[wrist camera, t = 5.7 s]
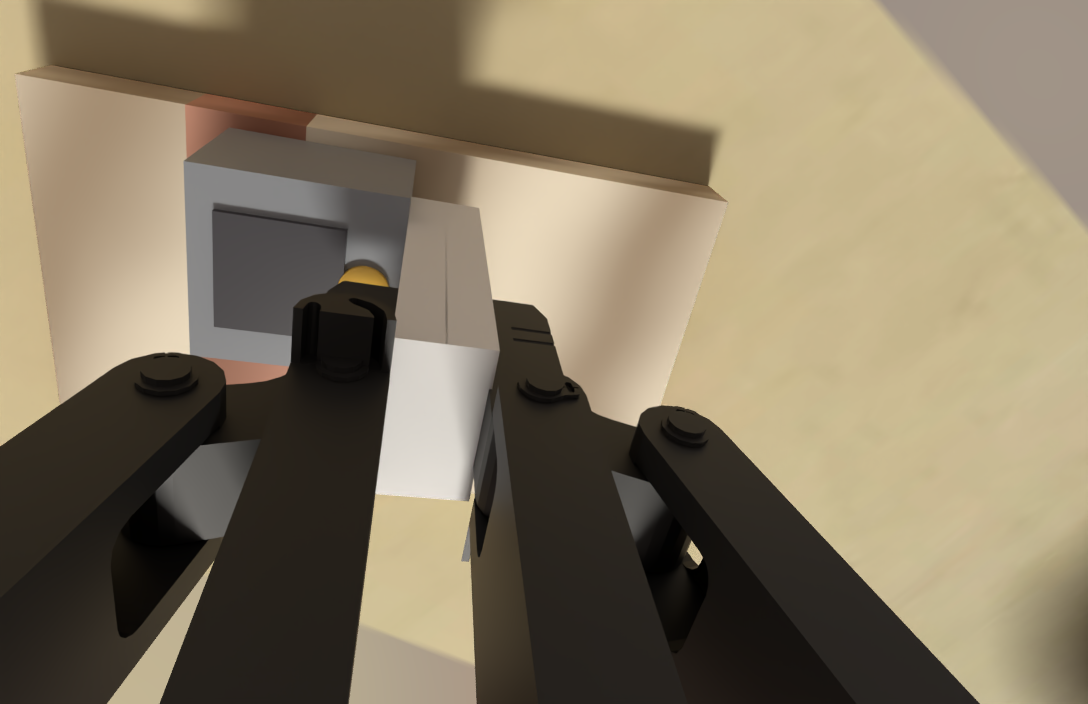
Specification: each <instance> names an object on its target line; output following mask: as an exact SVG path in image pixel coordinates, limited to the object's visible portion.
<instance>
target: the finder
mask: <svg viewBox="0 0 1088 704" xmlns="http://www.w3.org/2000/svg"><path fill="white" fill-rule="evenodd" d="M183 164H184V193H185V223H186V252H187V282H188V312H189V341H190V355H196V356H199V357H208V358H217V359H226V360H235V361H244V362H253V363H262V364H271V365H280V366H289V365H290V362H291V343H292V321H293V307H294V306H295V305H296V304H297V303H298V302H299V301H300V300H301V299H304V298H307V297H309V296H312V295H315V294H323V293H327V291H328V290H329V289H331V288H333V287H334V286H336V285H337V284H339V283H341V282H342V281H350V282H358V283H365V284H372V285H379V286H386V287H393V288H399V283H400V276H401V269H402V262H403V255H404V248H405V241H406V234H407V227H408V220H409V213H410V206H411V199H412V193H413V184H414V176H415V168H416V160H411V159H406V158H400V157H394V156H389V155H383V154H377V153H371V152H366V151H360V150H354V149H349V148H343V147H337V146H332V145H326V144H320V143H315V142H309V141H303V140H298V139H292V138H286V137H281V136H275V135H269V134H264V133H258V132H252V131H246V130H241V129H235V128H228V129H227V130H225V131H224V132H222V133H221V134H220V135H218V136H217V137H216V138H214V139H213V140H211V141H210V142H209V143H207V144H206V145H205V146H203V147H202V148H200V149H199V150H198V151H196V152H195V153H194V154H192V155H191V156H190V157H188V158H187V159H185V160H184V161H183Z"/></svg>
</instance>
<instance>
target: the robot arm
mask: <svg viewBox="0 0 1088 704" xmlns="http://www.w3.org/2000/svg"><path fill="white" fill-rule="evenodd" d="M473 479H474V490H475V499H474V503H473V508H472V513H471V518H470V522H469V527H468V532H467V537H466V541H465V546H464V551H463V556H462V560H461V561H467V562H469V558H470V555H471V579H472V603H473V627H474V650H475V674H476V698H477V704H979V702H978V701H977V700H976V699H975V698H974V697H973V696H972V695H971V694H970V693H969V692H968V691H967V690H966V689H965V688H964V687H963V685H962V684H961V683H960V682H959V681H958V680H957V679H956V678H955V677H954V676H953V675H952V674H951V673H950V672H949V671H948V670H947V668H946V667H945V666H944V665H943V664H942V663H941V662H940V661H939V660H938V659H937V658H936V657H935V656H934V655H933V654H932V653H931V651H930V650H929V649H928V648H927V647H926V646H925V645H924V644H923V643H922V642H921V641H920V640H919V639H918V638H917V637H916V636H915V635H914V633H913V632H912V631H911V630H910V629H909V628H908V627H907V626H906V625H905V624H904V623H903V622H902V621H901V620H900V619H899V618H898V616H897V615H896V614H895V613H894V612H893V611H892V610H891V609H890V608H889V607H888V606H887V605H886V604H885V603H884V602H883V601H882V599H881V598H880V597H879V596H878V595H877V594H876V593H875V592H874V591H873V590H872V589H871V588H870V587H869V586H868V585H867V584H866V582H865V581H864V580H863V579H862V578H861V577H860V576H859V575H858V574H857V573H856V572H855V571H854V570H853V569H852V568H851V567H850V566H849V564H848V563H847V562H846V561H845V560H844V559H843V558H842V557H841V556H840V555H839V554H838V553H837V552H836V551H835V550H834V549H833V547H832V546H831V545H830V544H829V543H828V542H827V541H826V540H825V539H824V538H823V537H822V536H821V535H820V534H819V533H818V532H817V530H816V529H815V528H814V527H813V526H812V525H811V524H810V523H809V522H808V521H807V520H806V519H805V518H804V517H803V516H802V515H801V513H800V512H799V511H798V510H797V509H796V508H795V507H794V506H793V505H792V504H791V503H790V502H789V501H788V500H787V499H786V498H785V497H784V495H783V494H782V493H781V492H780V491H779V490H778V489H777V488H776V487H775V486H774V485H773V484H772V483H771V482H770V481H769V480H768V478H767V477H766V476H765V475H764V474H763V473H762V472H761V471H760V470H759V469H758V468H757V467H756V466H755V465H754V464H753V463H752V461H751V460H750V459H749V458H748V457H747V456H746V455H745V454H744V453H743V452H742V451H741V450H740V449H739V448H738V447H737V446H736V444H735V443H734V442H733V441H732V440H731V439H730V438H729V437H728V436H727V435H726V434H725V433H724V432H723V431H722V430H721V429H720V428H719V427H718V426H716V425H715V424H714V423H713V422H711V421H710V420H709V419H707V418H705V417H703V416H701V415H699V414H698V413H696V412H695V411H692V410H689V409H685V408H682V407H678V406H674V407H673V406H662V405H661V406H656V407H650V408H648V409H646V410H645V411H644V412H642V413H641V414H640V417H639V420H638V423H637V426H636V427H635V426H632V425H628V424H625V423H622V422H618V421H615V420H612V419H609V418H606V417H604V416H601V415H598V414H596V413H594V412H593V411H591V407H590V404H589V401H588V398H587V395H586V394H585V392H584V391H583V389H582V388H581V386H580V385H578V384H577V383H576V382H574V381H573V380H572V379H570V378H569V377H567V376H565V375H563V371H562V368H561V365H560V361H559V358H558V354H557V351H556V347H555V346H554V341H553V337H552V335H551V330H550V327H549V324H548V320H547V318H546V317H545V316H544V315H543V314H542V313H541V312H540V311H539V310H538V309H537V308H536V307H535V306H533V305H529V304H522V303H515V302H508V301H501V300H494V299H492V293H491V286H490V279H489V272H488V265H487V259H486V252H485V245H484V238H483V231H482V224H481V217H480V210H479V208H476V207H470V206H464V205H458V204H452V203H446V202H440V201H434V200H428V199H423V198H417V197H412V199H411V206H410V213H409V220H408V227H407V234H406V241H405V248H404V255H403V262H402V269H401V276H400V283H399V288H393V287H386V286H379V285H372V284H365V283H358V282H350V281H342V282H341V283H339V284H337V285H336V286H334V287H333V288H331V289H329V290H328V291H327V293H323V294H315V295H312V296H309V297H307V298H304V299H301V300H300V301H299V302H298V303H297V304H296V305H295V306H294V307H293V321H292V343H291V362H290V365H289V368H288V370H287V373H286V374H285V375H283V376H281V377H278V378H275V379H271V380H267V381H262V382H254V383H244V384H229V385H226V378H225V373H224V370H223V369H221V368H220V367H219V366H218V365H217V364H216V363H215V362H213V361H210V360H207V359H205V358H202V357H199V356H196V355H189V354H182V353H178V352H168V353H165V352H163V353H153V354H150V355H146V356H141V357H137V358H133V359H130V360H128V361H126V362H124V363H122V364H120V365H118V366H116V367H114V368H112V369H111V370H109V371H108V372H107V373H105V374H104V375H102V376H101V377H99V378H98V379H96V380H95V381H94V382H92V383H91V384H89V385H88V386H86V387H85V388H84V389H82V390H81V391H79V392H78V393H76V394H75V395H74V396H72V397H71V398H69V399H68V400H66V401H65V402H63V403H62V404H61V405H59V406H58V407H56V408H55V409H53V410H52V411H51V412H49V413H48V414H46V415H45V416H43V417H42V418H40V419H39V420H38V421H36V422H35V423H33V424H32V425H30V426H29V427H28V428H26V429H25V430H23V431H22V432H20V433H19V434H18V435H16V436H15V437H13V438H12V439H10V440H9V441H7V442H6V443H5V444H3V445H2V446H0V704H107V702H108V701H109V700H110V699H111V697H112V696H113V695H114V693H115V692H116V691H117V689H118V688H119V687H120V685H121V684H122V683H123V681H124V680H125V678H126V677H127V676H128V674H129V673H130V672H131V671H132V669H133V668H134V667H135V665H136V664H137V663H138V661H139V660H140V659H141V657H142V656H143V655H144V653H145V652H146V651H147V649H148V648H149V647H150V645H151V644H152V643H153V641H154V640H155V639H156V637H157V636H158V635H159V633H160V632H161V631H162V629H163V628H164V627H165V625H166V624H167V623H168V621H169V620H170V619H171V617H172V616H173V615H174V613H175V612H176V611H177V609H178V608H179V607H180V605H181V604H182V603H183V601H184V600H185V599H186V597H187V596H188V595H189V593H190V592H191V591H192V589H193V588H194V586H195V585H196V584H197V583H198V581H199V580H200V579H201V577H202V576H203V575H204V573H205V572H206V571H207V569H208V568H209V567H210V565H211V564H212V563H213V561H214V560H215V561H214V563H213V566H212V568H211V571H210V574H209V576H208V579H207V582H206V584H205V587H204V589H203V592H202V594H201V597H200V600H199V603H198V605H197V607H196V610H195V613H194V616H193V618H192V621H191V623H190V626H189V628H188V631H187V634H186V636H185V639H184V642H183V644H182V647H181V649H180V652H179V655H178V657H177V660H176V662H175V665H174V667H173V670H172V673H171V675H170V678H169V681H168V683H167V686H166V688H165V691H164V694H163V696H162V699H161V701H160V704H349V697H350V689H351V681H352V674H353V666H354V658H355V650H356V642H357V634H358V626H359V619H360V611H361V603H362V595H363V587H364V579H365V571H366V563H367V556H368V548H369V540H370V532H371V524H372V516H373V508H374V500H375V494H382V495H395V496H408V497H420V498H434V499H447V500H460V501H469V499H470V494H471V489H472V484H473ZM691 540H692V541H693V543H694V544H695V546H696V547H697V548H698V550H699V551H700V553H701V555H702V557H703V559H702V561H701V563H700V565H699V566H698V565H697V564H696V563H695V562H694V561H693V559H692V558H691V556H690V555H689V554H688V552H687V550H688V548H689V545H690V543H691Z"/></svg>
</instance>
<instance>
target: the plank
mask: <svg viewBox="0 0 1088 704" xmlns="http://www.w3.org/2000/svg"><path fill="white" fill-rule="evenodd" d="M15 80H16V88H17V95H18V102H19V109H20V117H21V124H22V131H23V139H24V146H25V153H26V160H27V168H28V175H29V182H30V189H31V197H32V204H33V211H34V219H35V226H36V233H37V240H38V248H39V255H40V262H41V269H42V277H43V284H44V291H45V299H46V306H47V313H48V320H49V328H50V335H51V342H52V349H53V357H54V364H55V371H56V379H57V386H58V393H59V400H60V405H61V404H62V403H63V402H65V401H66V400H68V399H69V398H71V397H72V396H74V395H75V394H76V393H78V392H79V391H81V390H82V389H84V388H85V387H86V386H88V385H89V384H91V383H92V382H94V381H95V380H96V379H98V378H99V377H101V376H102V375H104V374H105V373H107V372H108V371H109V370H111V369H112V368H114V367H116V366H118V365H120V364H122V363H124V362H126V361H128V360H130V359H133V358H137V357H141V356H146V355H150V354H153V353H163V352H165V353H168V352H178V353H182V354H189V355H190V341H189V312H188V282H187V252H186V223H185V193H184V164H183V161H184V160H185V159H187V158H188V157H190V156H191V155H192V154H194V153H195V152H196V151H198V150H199V149H200V148H202V147H203V146H205V145H206V144H207V143H209V142H210V141H211V140H213V139H214V138H216V137H217V136H218V135H220V134H221V133H222V132H224V131H225V130H227V129H228V128H235V129H241V130H246V131H252V132H258V133H264V134H269V135H275V136H281V137H286V138H292V139H298V140H303V141H309V142H315V143H320V144H326V145H332V146H337V147H343V148H349V149H354V150H360V151H366V152H371V153H377V154H383V155H389V156H394V157H400V158H406V159H411V160H416V168H415V176H414V184H413V193H412V197H417V198H423V199H428V200H434V201H440V202H446V203H452V204H458V205H464V206H470V207H476V208H479V210H480V217H481V224H482V231H483V238H484V245H485V252H486V259H487V265H488V272H489V279H490V286H491V293H492V299H494V300H501V301H508V302H515V303H522V304H529V305H533V306H535V307H536V308H537V309H538V310H539V311H540V312H541V313H542V314H543V315H544V316H545V317H546V318H547V320H548V324H549V327H550V330H551V335H552V337H553V341H554V346H555V347H556V351H557V354H558V358H559V361H560V365H561V368H562V371H563V375H565V376H567V377H569V378H570V379H572V380H573V381H574V382H576V383H577V384H578V385H580V386H581V388H582V389H583V391H584V392H585V394H586V395H587V398H588V401H589V404H590V407H591V411H593V412H594V413H596V414H598V415H601V416H604V417H606V418H609V419H612V420H615V421H618V422H622V423H625V424H628V425H632V426H635V427H636V426H637V423H638V420H639V417H640V414H641V413H642V412H644V411H645V410H646V409H648V408H650V407H656V406H660V404H661V401H662V399H663V396H664V393H665V390H666V387H667V384H668V381H669V378H670V375H671V372H672V369H673V366H674V363H675V360H676V357H677V354H678V351H679V348H680V345H681V342H682V339H683V336H684V333H685V330H686V327H687V324H688V321H689V318H690V315H691V312H692V309H693V306H694V303H695V300H696V297H697V294H698V291H699V288H700V285H701V282H702V279H703V276H704V274H705V271H706V268H707V265H708V262H709V259H710V256H711V253H712V250H713V247H714V244H715V241H716V238H717V235H718V232H719V229H720V226H721V223H722V220H723V217H724V214H725V211H726V208H727V205H728V202H727V201H726V200H725V199H724V198H722V197H721V196H720V195H719V194H718V193H716V192H715V191H714V190H713V189H712V188H710V187H709V186H705V185H699V184H694V183H689V182H683V181H678V180H672V179H667V178H662V177H656V176H651V175H645V174H640V173H634V172H629V171H624V170H618V169H613V168H607V167H602V166H596V165H591V164H586V163H580V162H575V161H569V160H564V159H558V158H553V157H548V156H542V155H537V154H531V153H526V152H520V151H515V150H510V149H504V148H499V147H493V146H488V145H482V144H477V143H472V142H466V141H461V140H455V139H450V138H444V137H439V136H434V135H428V134H423V133H417V132H412V131H406V130H401V129H396V128H390V127H385V126H379V125H374V124H368V123H363V122H358V121H352V120H347V119H341V118H336V117H330V116H325V115H320V114H314V113H309V112H303V111H298V110H292V109H287V108H282V107H276V106H271V105H265V104H260V103H255V102H249V101H244V100H238V99H233V98H227V97H222V96H217V95H211V94H206V93H200V92H195V91H189V90H184V89H179V88H173V87H168V86H162V85H157V84H151V83H146V82H141V81H135V80H130V79H124V78H119V77H113V76H108V75H103V74H97V73H92V72H86V71H81V70H75V69H70V68H65V67H59V66H54V65H49V66H45V67H40V68H36V69H32V70H28V71H24V72H20V73H16V74H15ZM202 358H205V359H207V360H210V361H213V362H215V363H216V364H217V365H218V366H219V367H220V368H221V369H223V370H224V373H225V378H226V385H229V384H244V383H254V382H262V381H267V380H271V379H275V378H278V377H281V376H283V375H285V374H286V373H287V370H288V368H289V366H280V365H271V364H262V363H253V362H244V361H235V360H226V359H217V358H208V357H202ZM471 493H475V490H474V479H473V484H472V489H471Z"/></svg>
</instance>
